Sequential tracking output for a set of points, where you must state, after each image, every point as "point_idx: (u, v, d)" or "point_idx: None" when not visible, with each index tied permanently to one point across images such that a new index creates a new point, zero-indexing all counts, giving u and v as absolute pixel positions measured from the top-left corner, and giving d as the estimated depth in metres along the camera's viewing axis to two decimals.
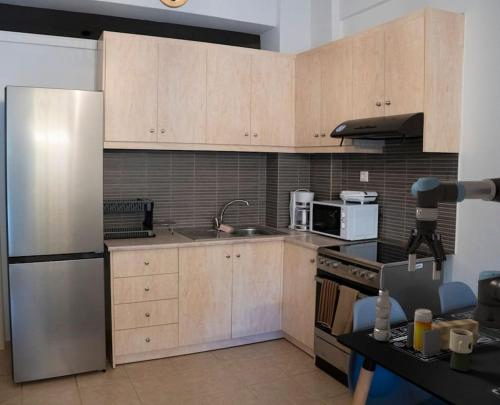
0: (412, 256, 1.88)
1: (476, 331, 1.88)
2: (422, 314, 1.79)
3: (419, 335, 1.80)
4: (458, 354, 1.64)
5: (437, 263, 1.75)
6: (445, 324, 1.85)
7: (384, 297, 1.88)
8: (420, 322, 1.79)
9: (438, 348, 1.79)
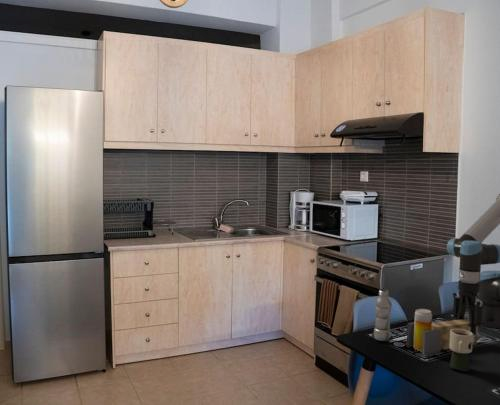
0: None
1: (476, 331, 1.88)
2: (422, 314, 1.79)
3: (419, 335, 1.80)
4: (458, 354, 1.64)
5: (472, 327, 1.85)
6: (445, 324, 1.85)
7: (384, 297, 1.88)
8: (420, 322, 1.79)
9: (438, 348, 1.79)
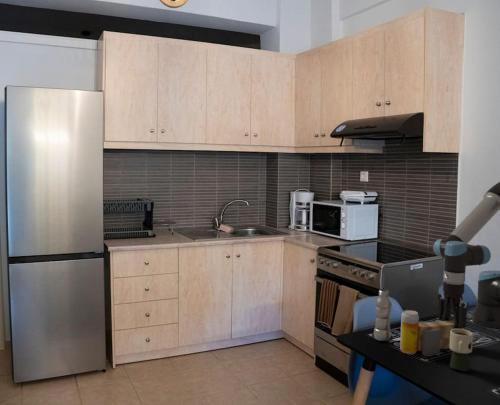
0: None
1: None
2: (408, 315, 1.77)
3: (405, 337, 1.78)
4: (458, 354, 1.64)
5: None
6: (430, 324, 1.82)
7: (384, 297, 1.88)
8: (407, 324, 1.77)
9: (438, 348, 1.79)
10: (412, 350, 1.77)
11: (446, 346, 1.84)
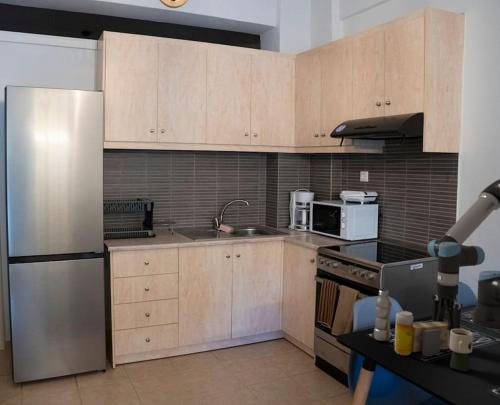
0: None
1: None
2: (403, 316, 1.76)
3: (400, 338, 1.77)
4: (458, 354, 1.64)
5: (450, 330, 1.82)
6: (425, 325, 1.81)
7: (384, 297, 1.88)
8: (401, 325, 1.76)
9: (438, 348, 1.79)
10: (407, 351, 1.76)
11: (440, 347, 1.83)
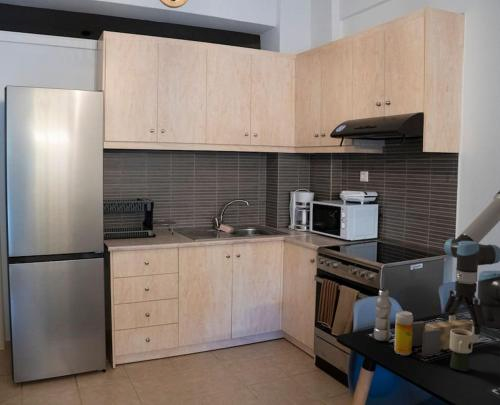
0: (452, 317, 1.94)
1: None
2: (403, 316, 1.76)
3: (400, 338, 1.77)
4: (458, 354, 1.64)
5: (476, 327, 1.82)
6: (442, 325, 1.84)
7: (384, 297, 1.88)
8: (401, 325, 1.76)
9: (438, 348, 1.79)
10: (407, 351, 1.76)
11: None
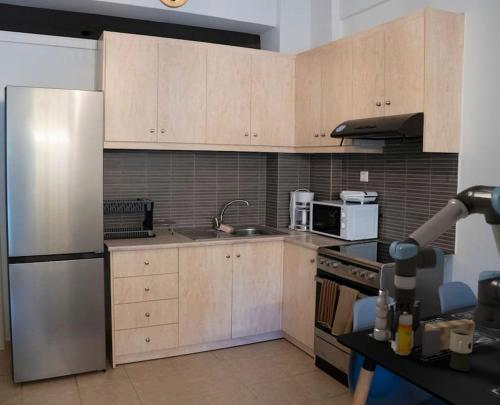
0: None
1: (472, 331, 1.88)
2: (402, 316, 1.76)
3: (399, 338, 1.76)
4: (458, 354, 1.64)
5: None
6: (442, 325, 1.84)
7: (384, 297, 1.88)
8: (400, 325, 1.76)
9: (438, 348, 1.79)
10: (406, 351, 1.76)
11: None
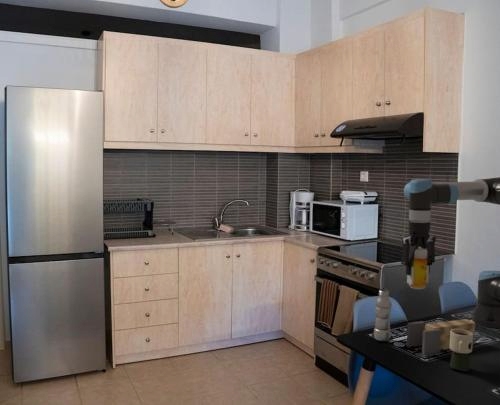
0: None
1: (473, 331, 1.88)
2: (417, 250, 1.77)
3: (415, 272, 1.78)
4: (458, 354, 1.64)
5: None
6: (442, 325, 1.84)
7: (384, 297, 1.88)
8: (416, 259, 1.78)
9: (438, 348, 1.79)
10: (422, 284, 1.78)
11: None
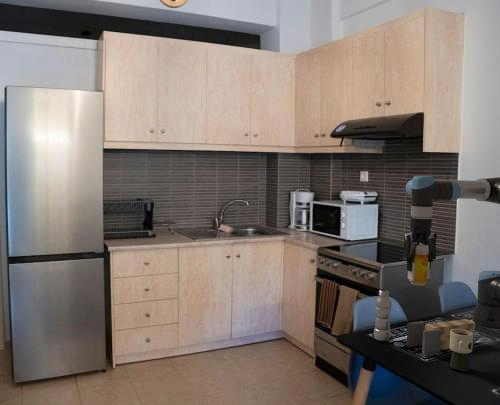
0: None
1: (473, 331, 1.88)
2: (419, 246, 1.78)
3: (416, 268, 1.79)
4: (458, 354, 1.64)
5: None
6: (442, 325, 1.84)
7: (384, 297, 1.88)
8: (417, 255, 1.78)
9: (438, 348, 1.79)
10: (423, 281, 1.78)
11: None
